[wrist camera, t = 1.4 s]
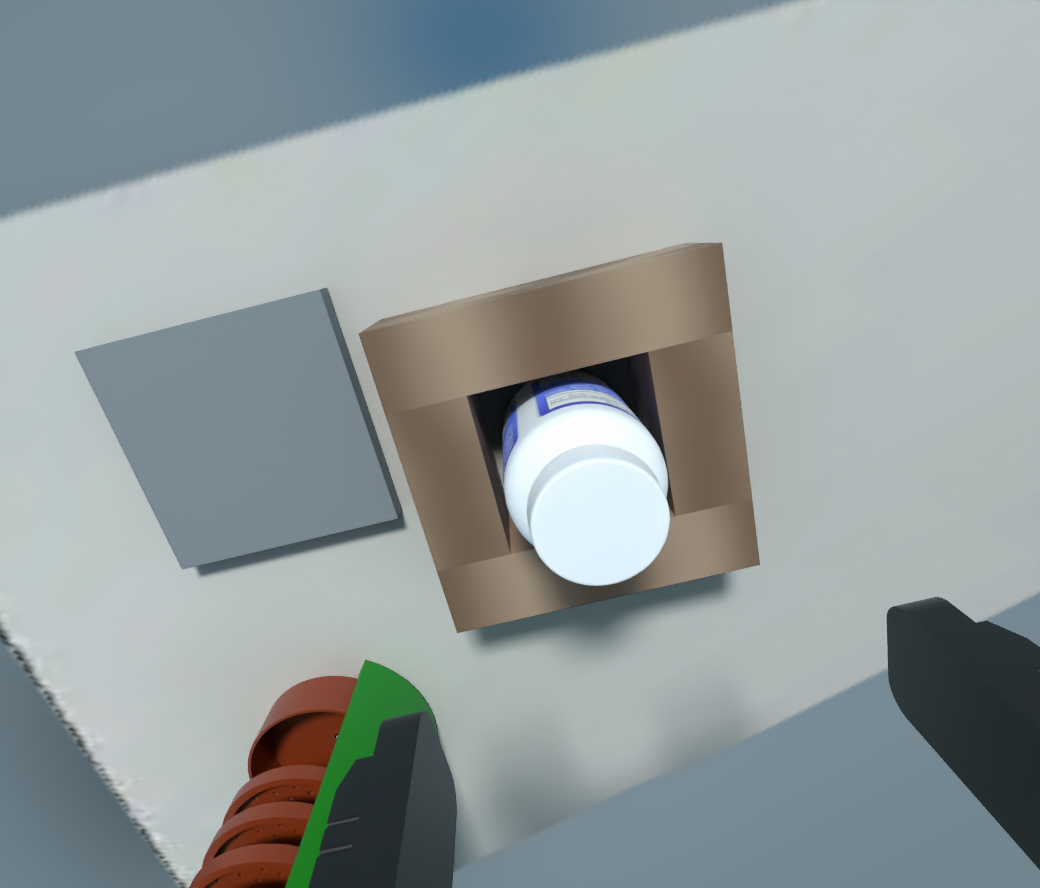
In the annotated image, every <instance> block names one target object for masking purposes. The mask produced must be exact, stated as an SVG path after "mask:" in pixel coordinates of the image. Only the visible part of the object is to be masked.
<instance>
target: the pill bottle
mask: <svg viewBox="0 0 1040 888" xmlns="http://www.w3.org/2000/svg"><path fill="white" fill-rule="evenodd" d="M502 438H503V481H504V492H505V499H506V504H507V508H508V510H509V513H510V516H511V518H512V520H513V522H514V524H515V525H516V527H517V529H518V530H519V532H520V533H521V534H522V535H523V536H524V538H525V539H526V540H527V541H528V542H530V543H531V544H532V545H533V546H534V548H535V550H536V552H537V553H538V555H539V557H540V558H541V560H542V561H543V562H544V563H545V565H546V566H547V567H549V568H550V569H551V570H552V571H553V572H555V573H556V574H558V575H559V576H561V577H563V578H565V579H567V580H569V581H572V582H575V583H579V584H583V585H592V586H602V585H610V584H615V583H619V582H621V581H625V580H627V579H629V578H631V577H633V576H635V575H636V574H638V573H640V572H641V571H642V570H644V569H645V568H646V567H648V566H649V565H650V564H651V563H652V562H653V560H654V559H655V558H656V557H657V556H658V554H659V553H660V551H661V549H662V547H663V545H664V543H665V541H666V538H667V535H668V531H669V525H670V513H669V506H668V502H667V499H666V497H667V491H668V475H667V468H666V464H665V461H664V458H663V455H662V453H661V450H660V448H659V446H658V444H657V443H656V441H655V439H654V438H653V437H652V435H651V434H650V432H649V431H648V430H647V429H646V427H645V426H644V425H643V424H642V423H641V422H640V420H639V419H638V418H637V417H636V416H635V414H634V413H633V412H632V411H631V410H630V408H629V407H628V406H627V405H626V404H625V403H624V401H623V400H622V399H621V398H620V397H619V396H618V394H617V393H616V392H615V391H614V390H613V389H612V388H611V387H610V386H609V385H608V384H607V383H605V382H604V381H603V380H601V379H599V378H598V377H596V376H594V375H592V374H590V373H587V372H584V371H579V370H571V371H567V372H563V373H559V374H554V375H550V376H546V377H542V378H538V379H534V380H531V381H530V382H528V383H527V384H526V385H524V386H523V387H522V388H521V389H520V390H519V391H518V393H517V394H516V395H515V396H514V397H513V399H512V401H511V402H510V404H509V406H508V408H507V411H506V414H505V418H504V422H503V432H502Z"/></svg>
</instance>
